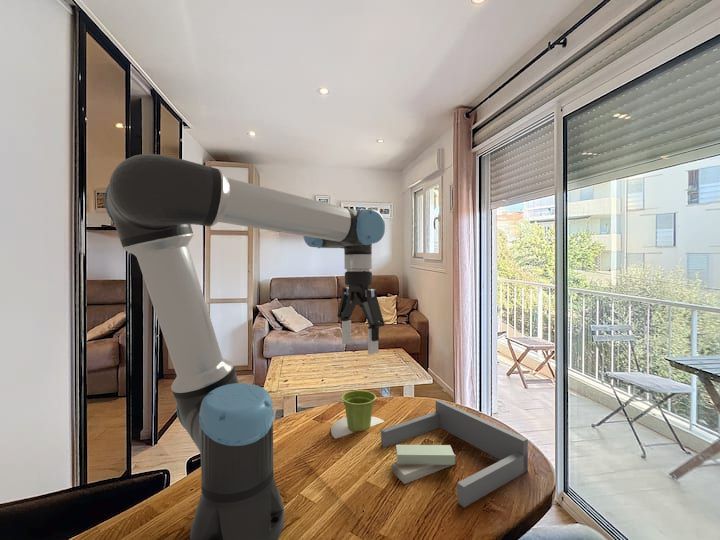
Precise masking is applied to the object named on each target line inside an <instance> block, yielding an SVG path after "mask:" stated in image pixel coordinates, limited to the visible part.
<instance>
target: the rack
mask: <svg viewBox="0 0 720 540" xmlns="http://www.w3.org/2000/svg"><path fill="white" fill-rule="evenodd" d="M436 429H442V430H444V431H446V432H448V433H449V434H451V435H453V436H455V437H457V438H459V439H461V440H462V441H464V442H465V443H468V444H470V445H471V446H474V447H475V448H477V449H479V450H481V451H483V452H485V453H487V454H488V455H490V456H492V457H494V458H496V459H497V460H498V461H497V462H495V463H493V464H491V465H489V466H486V467H484V468H483V469H481V470H480V471H478V472H475V473H473V474H471V475H469V476H466V478H464V479H461V480H460V481H457V483H456V484H457V488H456V489H457V491H456V492H457V493H456V494H457V497H456V498H457V504H458V505H460V506H461V507H463V508H466V507H468V506H469V505H471V504H473V503H475V502H477V501H479V500H480V499H482V498H483V497H486V495H488V494H491V492H493V491H496V490H497V489H499V488H500V487H502V486H504V485H506V484H507V483H509V482H510V481H512V480H515V479H517V478H518V477H519V476H521V475H523V474H525V473H526V472H528V471H529V457H528V455H529V448H528V447H529V446H528V445H529V441H528V440H529V439H528V438H527V437H524V436H523V435H520V434H517V433H515V432H513V431H510V430H508V429H507V428H504V427H502V426H499V425H498V424H495V423H493V422H490V421H488V420H486V419H484V418H482V417H480V416H477V415H475V414H473V413H470V412H468V411H466V410H464V409H463V408H460V407H457V406H454V405H453V404H451V403H448V402H446V401H444V400H441V399H436V400H435V411H434V412H431V413H427V414H425V415H421V416H418V417H416V418H412V419H409V420H406V421H403V422H400V423H397V424H395V425H391V426H388V427H385V428H382V429H381V430H380V445H381V446H382V447H383V448H388V447H390V446H394V445H397V444H398V443H401V442H403V441H407V440H409V439H412V438H414V437H415V438H416V437H418V436H420V435H423V434H425V433H428V432H431V431H433V430H436Z"/></svg>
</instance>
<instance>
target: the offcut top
mask: <svg viewBox="0 0 720 540" xmlns="http://www.w3.org/2000/svg"><path fill="white" fill-rule="evenodd" d="M395 451H396V452H395V453H396V462H397V464H430V465H452V466H454V465H456V464H455V455H456V454H455V453H454V451H453V448H452V446H451V444H395ZM454 454H455V455H454Z"/></svg>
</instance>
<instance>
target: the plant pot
mask: <svg viewBox="0 0 720 540" xmlns="http://www.w3.org/2000/svg"><path fill="white" fill-rule="evenodd" d="M376 399H377V395H376V393H375V394H374V392H371V391H368V390H360V389H359V390H357V389H356V390H352V391H351V390H349V391H347V392H345V393H343V394H342V396H341V400H342V401H343V405H344V409H345V415H346V416H345V417H347V424H348V429H349V430H350V431H352V432H353V433H356V432H364V431H367V430H369V429H370V428H371V427H370V424H371V416H372V415H373V414H372V413H373V407H374V404H375V401H376Z"/></svg>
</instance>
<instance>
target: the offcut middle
mask: <svg viewBox="0 0 720 540" xmlns="http://www.w3.org/2000/svg"><path fill="white" fill-rule="evenodd" d="M454 455H455V465H456V464H457V455H456V454H455V453H454ZM452 466H453V465H430V464H397V461H395V462H393V463H391V473H392V474H394V475H395V477H397V479H398V480H399V481H401V482H402V483H403V485H405V484H408V483H411V482H414V481H416V480H418V479H421V478H424V477H425V476H426V477H427V476H428V475H431V474H434V473H437V472H439V471H441V470H444V469H446V468H449V467H452Z"/></svg>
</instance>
